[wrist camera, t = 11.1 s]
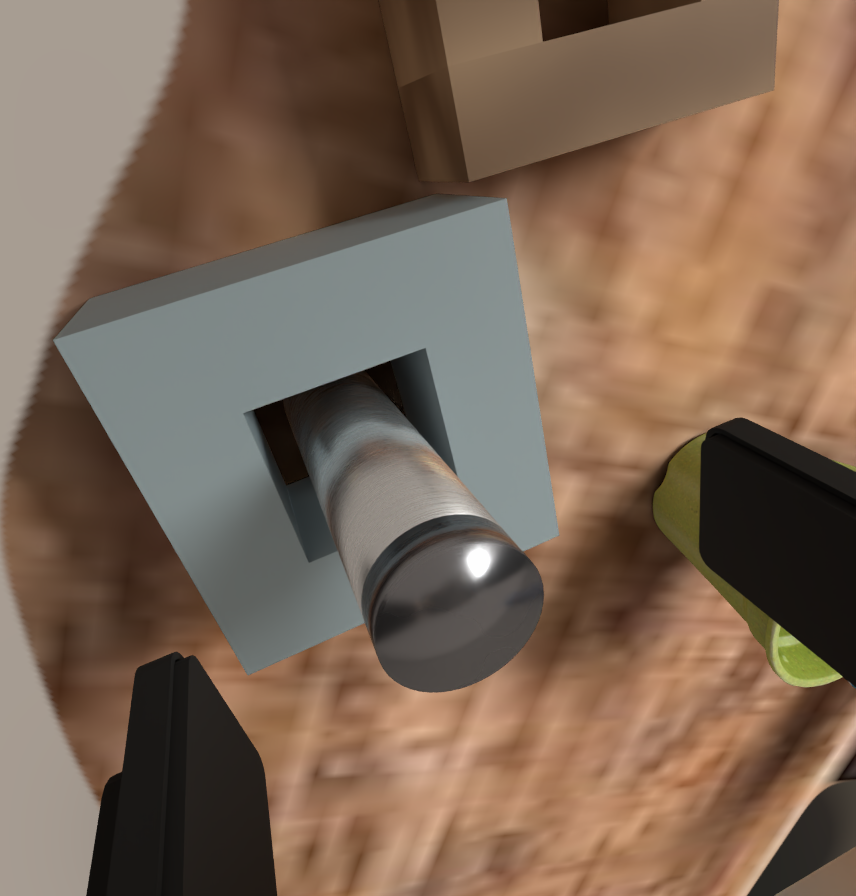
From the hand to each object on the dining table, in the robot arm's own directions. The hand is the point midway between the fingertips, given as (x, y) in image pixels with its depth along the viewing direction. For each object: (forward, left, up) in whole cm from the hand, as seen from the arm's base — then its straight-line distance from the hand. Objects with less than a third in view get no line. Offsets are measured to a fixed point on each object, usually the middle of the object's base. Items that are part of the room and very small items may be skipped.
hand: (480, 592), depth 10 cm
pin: (+1, 0, -12) cm, 12 cm away
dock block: (+1, 0, -12) cm, 12 cm away
